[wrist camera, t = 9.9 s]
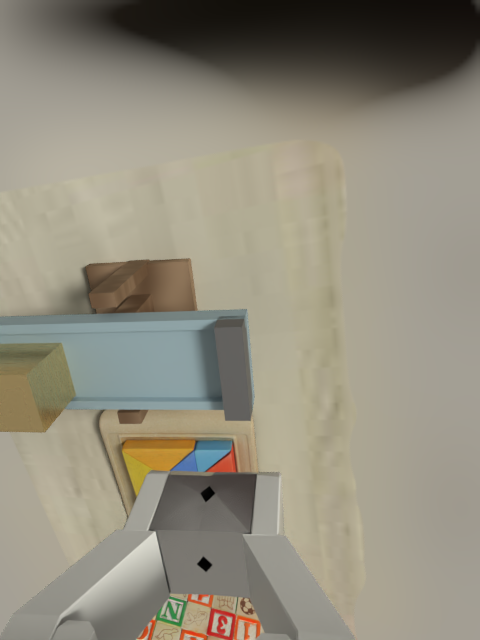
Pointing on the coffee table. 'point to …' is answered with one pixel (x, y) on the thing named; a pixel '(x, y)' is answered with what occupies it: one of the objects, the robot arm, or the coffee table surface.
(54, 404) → the block
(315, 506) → the coffee table surface
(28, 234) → the coffee table surface
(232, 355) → the beam
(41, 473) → the coffee table surface
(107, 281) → the pivot stand
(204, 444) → the wooden puzzle
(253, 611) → the stack of blocks
